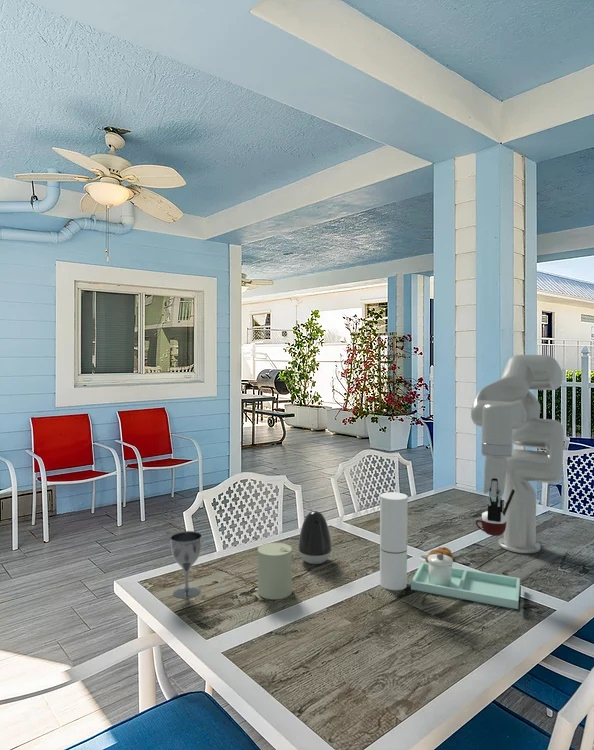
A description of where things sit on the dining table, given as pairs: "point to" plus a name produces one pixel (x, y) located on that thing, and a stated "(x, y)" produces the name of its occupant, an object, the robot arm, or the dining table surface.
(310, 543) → the black egg-shaped piece
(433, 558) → the sugar pot
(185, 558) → the wine glass
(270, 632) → the dining table surface
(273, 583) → the can
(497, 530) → the cocoa
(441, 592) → the tray
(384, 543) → the cylindrical container
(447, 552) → the pastry
